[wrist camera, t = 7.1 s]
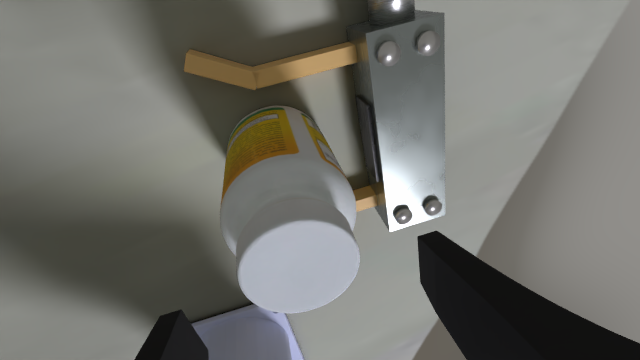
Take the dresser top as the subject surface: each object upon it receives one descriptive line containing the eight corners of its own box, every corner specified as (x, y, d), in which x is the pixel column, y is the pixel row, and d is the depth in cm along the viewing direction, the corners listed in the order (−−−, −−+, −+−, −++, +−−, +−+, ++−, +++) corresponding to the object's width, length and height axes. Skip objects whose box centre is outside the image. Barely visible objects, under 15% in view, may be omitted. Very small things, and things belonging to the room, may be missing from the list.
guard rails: (373, 212, 22) (380, 223, 21) (260, 246, 22) (261, 259, 21) (343, 10, 16) (350, 11, 15) (181, 51, 15) (176, 55, 14)
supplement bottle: (336, 118, 19) (410, 218, 10) (304, 197, 21) (346, 332, 12) (240, 89, 17) (239, 183, 9) (216, 179, 19) (198, 323, 11)
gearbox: (421, 189, 22) (447, 217, 19) (369, 204, 22) (388, 235, 19) (409, -48, 15) (448, -57, 12) (333, -29, 15) (354, -34, 12)
